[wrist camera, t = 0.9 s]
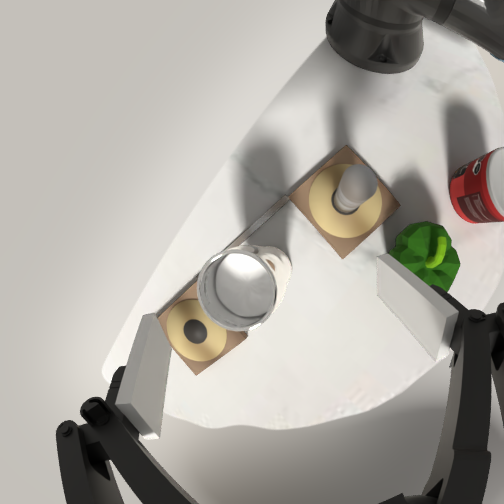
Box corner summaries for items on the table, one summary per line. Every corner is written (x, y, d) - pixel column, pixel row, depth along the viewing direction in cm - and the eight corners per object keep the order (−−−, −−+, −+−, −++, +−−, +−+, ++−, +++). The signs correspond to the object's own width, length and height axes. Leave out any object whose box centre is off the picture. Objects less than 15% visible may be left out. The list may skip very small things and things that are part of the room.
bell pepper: (418, 301, 33) (448, 322, 23) (368, 270, 34) (387, 282, 24) (447, 245, 32) (485, 248, 22) (399, 212, 33) (427, 204, 23)
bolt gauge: (342, 144, 34) (352, 99, 21) (398, 206, 33) (438, 190, 20) (154, 317, 41) (97, 344, 28) (199, 372, 40) (155, 417, 27)
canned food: (485, 167, 29) (528, 149, 18) (491, 223, 30) (538, 220, 19) (444, 164, 31) (482, 142, 20) (450, 224, 31) (493, 220, 21)
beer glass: (230, 266, 38) (178, 284, 23) (270, 231, 37) (239, 227, 22) (265, 307, 37) (232, 349, 23) (306, 273, 36) (299, 298, 21)
